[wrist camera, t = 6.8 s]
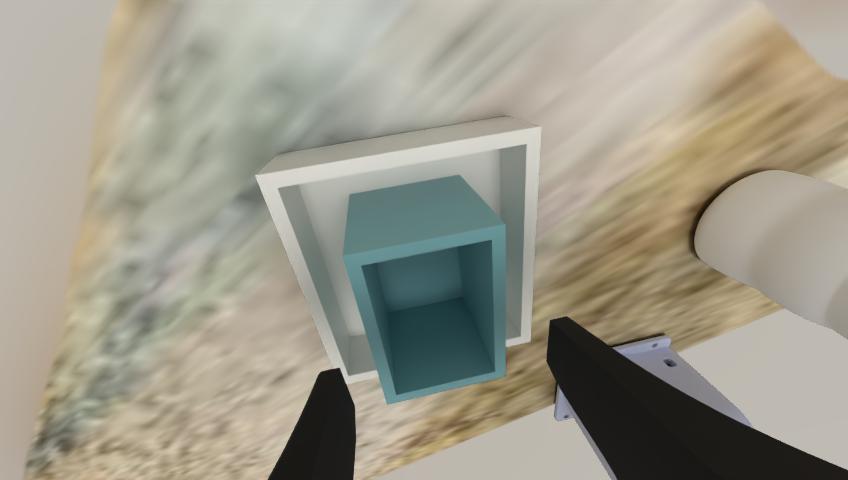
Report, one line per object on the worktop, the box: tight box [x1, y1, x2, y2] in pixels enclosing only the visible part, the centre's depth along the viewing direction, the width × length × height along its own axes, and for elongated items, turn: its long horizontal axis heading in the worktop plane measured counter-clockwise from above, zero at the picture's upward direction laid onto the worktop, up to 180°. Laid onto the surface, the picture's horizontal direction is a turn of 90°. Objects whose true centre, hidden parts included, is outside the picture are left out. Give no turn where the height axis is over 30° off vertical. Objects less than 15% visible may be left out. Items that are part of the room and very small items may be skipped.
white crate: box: [255, 116, 541, 384], centre depth 17 cm, size 11×12×4 cm
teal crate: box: [343, 175, 506, 405], centre depth 15 cm, size 6×8×6 cm
